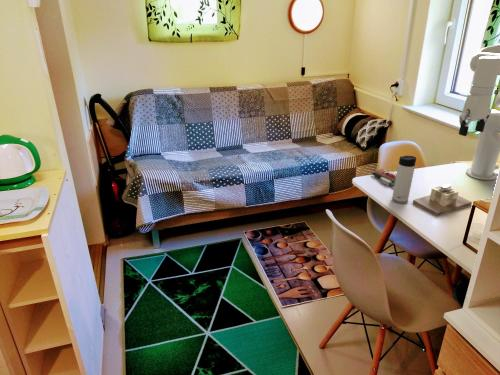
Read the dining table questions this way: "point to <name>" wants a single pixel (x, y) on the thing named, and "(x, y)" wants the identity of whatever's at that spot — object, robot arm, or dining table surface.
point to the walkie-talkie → (386, 177)
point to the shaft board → (439, 209)
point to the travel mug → (403, 179)
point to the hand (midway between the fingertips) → (470, 133)
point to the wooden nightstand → (443, 196)
